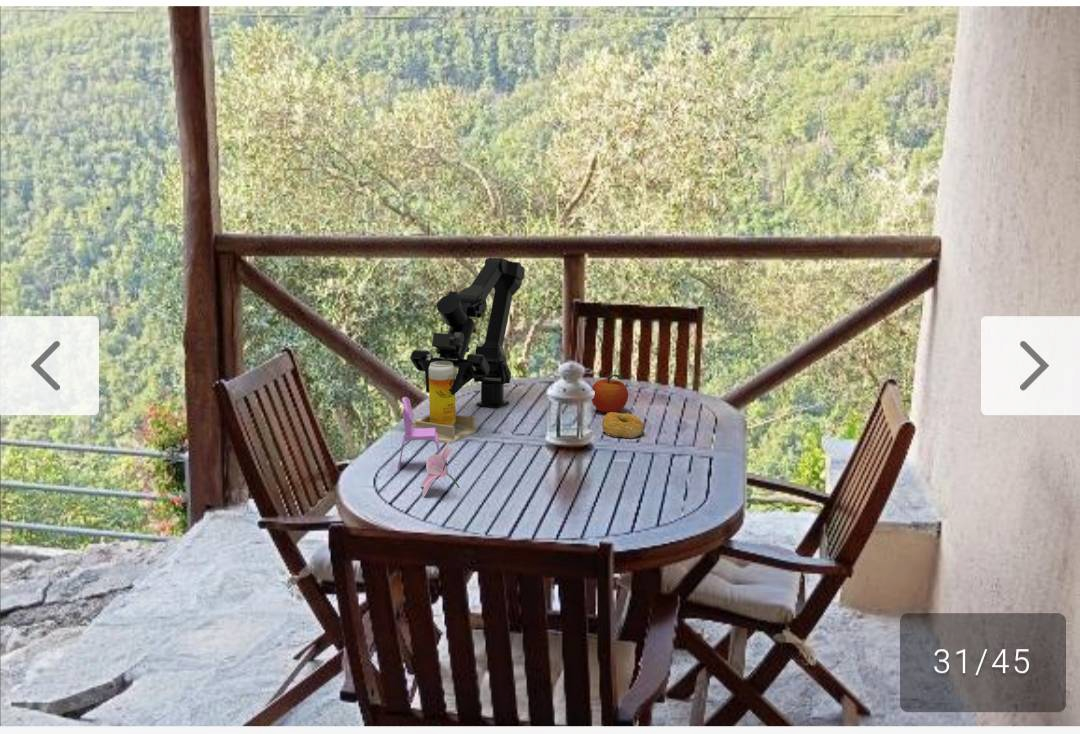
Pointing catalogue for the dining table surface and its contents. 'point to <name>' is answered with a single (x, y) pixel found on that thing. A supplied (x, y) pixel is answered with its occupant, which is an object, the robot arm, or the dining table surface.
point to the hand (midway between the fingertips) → (439, 393)
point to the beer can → (442, 393)
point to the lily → (437, 468)
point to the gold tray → (448, 428)
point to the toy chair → (413, 432)
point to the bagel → (622, 425)
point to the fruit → (610, 395)
